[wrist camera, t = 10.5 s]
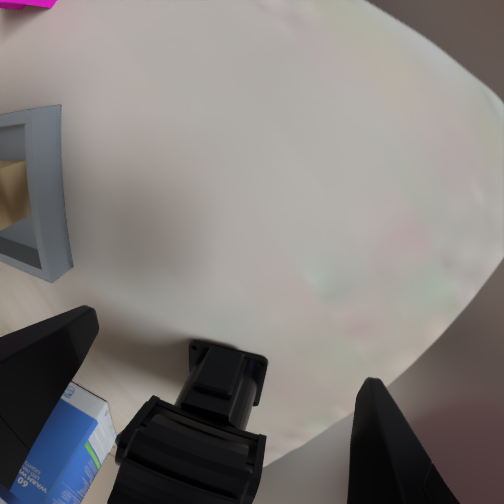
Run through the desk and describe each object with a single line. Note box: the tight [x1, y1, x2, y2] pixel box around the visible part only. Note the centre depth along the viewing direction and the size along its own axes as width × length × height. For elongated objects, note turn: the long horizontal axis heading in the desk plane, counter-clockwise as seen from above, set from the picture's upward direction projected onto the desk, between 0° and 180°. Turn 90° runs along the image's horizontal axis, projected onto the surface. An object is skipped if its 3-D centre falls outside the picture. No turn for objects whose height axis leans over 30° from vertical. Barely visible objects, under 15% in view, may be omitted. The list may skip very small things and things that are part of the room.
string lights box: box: [0, 382, 116, 504], centre depth 26 cm, size 13×8×26 cm, turn 166°
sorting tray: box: [0, 105, 73, 283], centre depth 21 cm, size 14×14×3 cm
